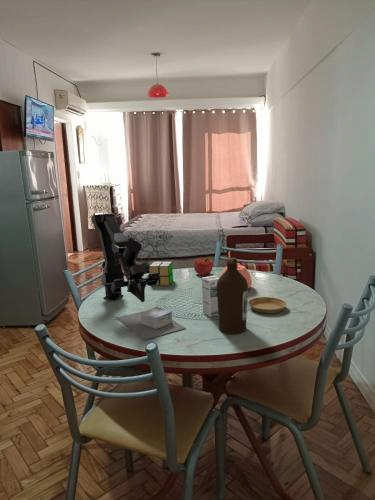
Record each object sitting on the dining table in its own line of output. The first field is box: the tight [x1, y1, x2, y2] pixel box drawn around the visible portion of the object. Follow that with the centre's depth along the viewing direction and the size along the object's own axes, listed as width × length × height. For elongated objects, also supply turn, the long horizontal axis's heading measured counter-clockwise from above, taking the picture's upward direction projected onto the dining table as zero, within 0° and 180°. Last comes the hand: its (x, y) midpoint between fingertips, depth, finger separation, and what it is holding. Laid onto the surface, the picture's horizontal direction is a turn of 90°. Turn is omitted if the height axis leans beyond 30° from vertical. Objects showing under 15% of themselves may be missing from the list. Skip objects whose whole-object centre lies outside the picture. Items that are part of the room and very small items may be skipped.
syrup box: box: [201, 274, 220, 318], centre depth 140 cm, size 6×6×14 cm
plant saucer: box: [247, 296, 287, 314], centre depth 145 cm, size 15×15×3 cm
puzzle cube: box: [148, 261, 174, 287], centre depth 184 cm, size 10×10×10 cm
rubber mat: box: [116, 309, 187, 341], centre depth 134 cm, size 24×16×1 cm, turn 32°
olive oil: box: [216, 257, 249, 335], centre depth 124 cm, size 11×11×25 cm
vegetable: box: [193, 256, 215, 277], centre depth 198 cm, size 11×10×10 cm
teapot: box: [220, 262, 253, 290], centre depth 170 cm, size 22×15×12 cm
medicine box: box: [140, 306, 173, 329], centre depth 132 cm, size 8×4×9 cm
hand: (143, 301), depth 136 cm, fingers closed
